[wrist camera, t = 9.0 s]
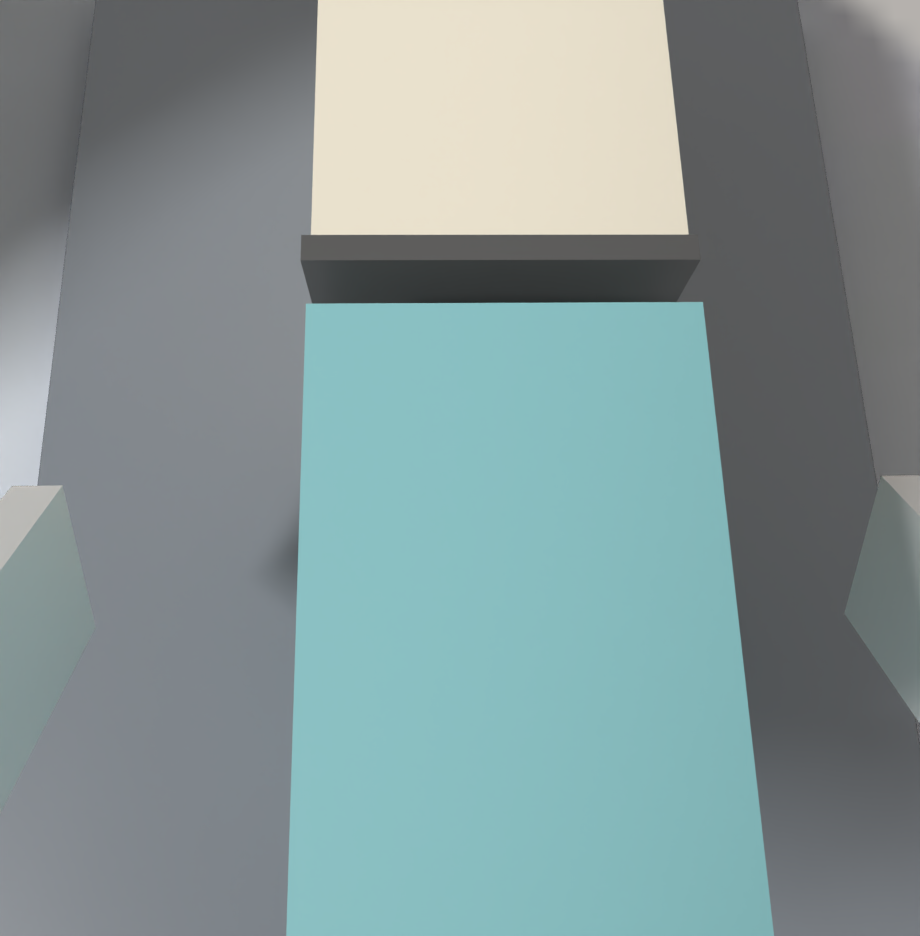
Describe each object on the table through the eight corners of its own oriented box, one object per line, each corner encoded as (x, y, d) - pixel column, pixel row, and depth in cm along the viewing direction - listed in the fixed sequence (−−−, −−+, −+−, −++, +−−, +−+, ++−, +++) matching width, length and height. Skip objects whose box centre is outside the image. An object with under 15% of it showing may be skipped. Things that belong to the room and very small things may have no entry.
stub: (578, 833, 17) (777, 964, 7) (367, 838, 17) (284, 981, 7) (560, 525, 19) (702, 302, 9) (370, 527, 18) (306, 303, 9)
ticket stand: (976, 1272, 16) (2034, 2310, 5) (-37, 1321, 15) (-1068, 2622, 5) (781, 19, 24) (1055, -537, 14) (111, 13, 23) (-150, -578, 13)
